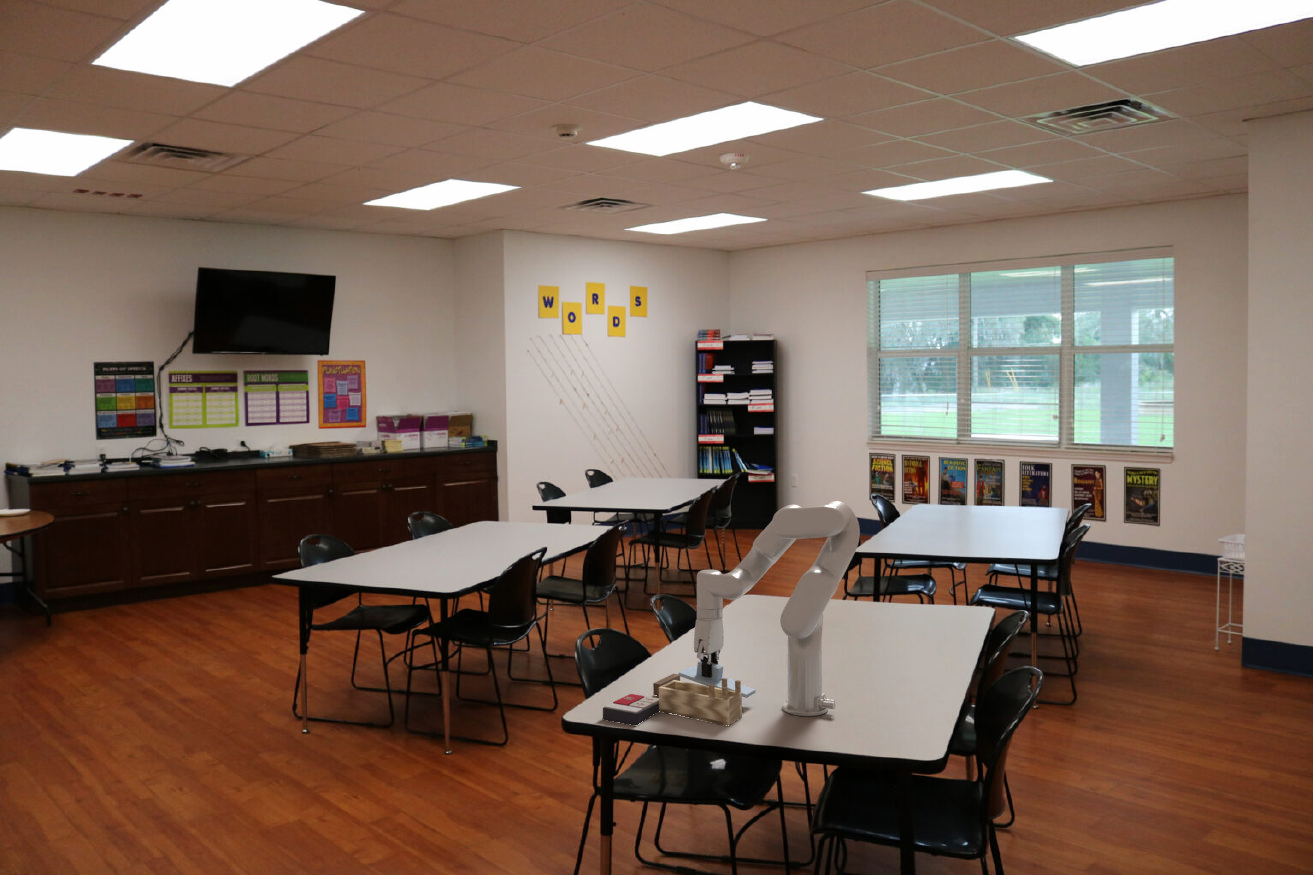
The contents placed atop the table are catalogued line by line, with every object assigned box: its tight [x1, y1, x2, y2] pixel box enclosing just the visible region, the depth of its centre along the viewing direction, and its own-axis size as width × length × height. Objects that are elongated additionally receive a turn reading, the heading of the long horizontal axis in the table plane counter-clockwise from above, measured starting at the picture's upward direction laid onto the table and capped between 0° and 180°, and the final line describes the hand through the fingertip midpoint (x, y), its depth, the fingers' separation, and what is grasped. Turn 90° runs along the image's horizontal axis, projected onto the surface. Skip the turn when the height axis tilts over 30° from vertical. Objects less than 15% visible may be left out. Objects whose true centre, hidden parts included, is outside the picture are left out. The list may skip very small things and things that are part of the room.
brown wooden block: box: [652, 673, 681, 697], centre depth 278 cm, size 2×11×4 cm, turn 146°
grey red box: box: [602, 693, 660, 726], centre depth 258 cm, size 11×4×15 cm
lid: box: [677, 659, 757, 699], centre depth 268 cm, size 22×8×5 cm, turn 57°
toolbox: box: [658, 677, 743, 727], centre depth 257 cm, size 22×8×10 cm, turn 57°
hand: (709, 674), depth 270 cm, fingers closed on lid, 2 cm apart
